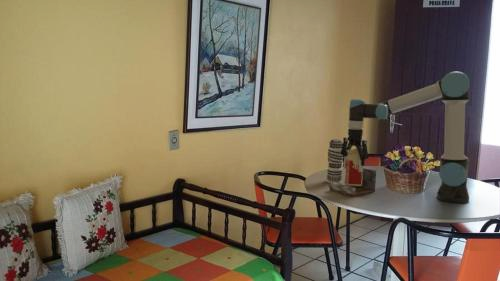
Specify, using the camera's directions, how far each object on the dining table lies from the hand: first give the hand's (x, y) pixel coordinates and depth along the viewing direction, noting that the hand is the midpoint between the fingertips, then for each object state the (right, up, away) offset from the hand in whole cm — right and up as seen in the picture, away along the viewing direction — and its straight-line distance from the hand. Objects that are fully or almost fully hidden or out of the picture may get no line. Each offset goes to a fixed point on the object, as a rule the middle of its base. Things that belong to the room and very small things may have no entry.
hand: (353, 169), depth 232 cm
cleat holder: (0, -12, +2) cm, 12 cm away
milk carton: (0, -8, +1) cm, 8 cm away
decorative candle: (-6, -9, +23) cm, 25 cm away
